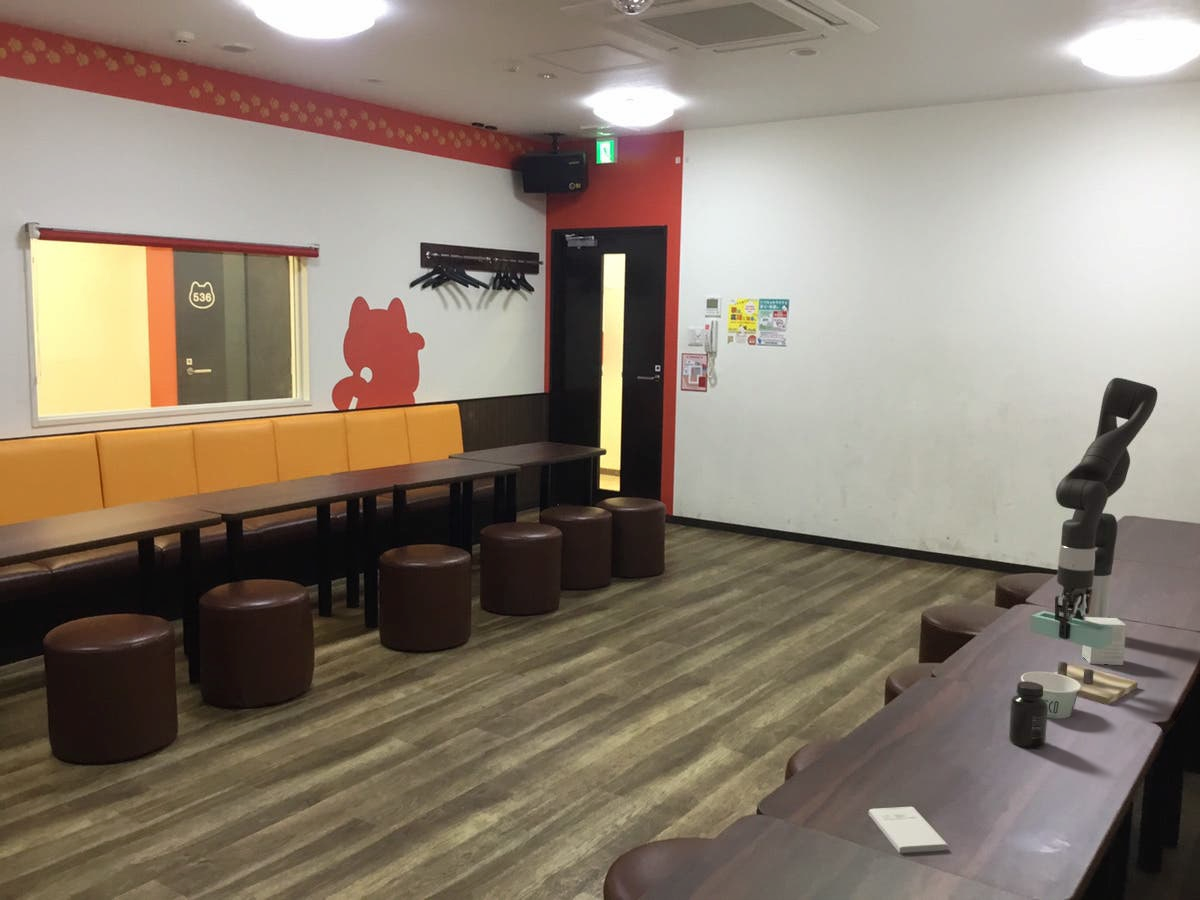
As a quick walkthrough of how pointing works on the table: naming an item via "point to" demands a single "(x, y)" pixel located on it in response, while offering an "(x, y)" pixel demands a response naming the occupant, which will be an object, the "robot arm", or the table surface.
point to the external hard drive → (907, 830)
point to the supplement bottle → (1028, 716)
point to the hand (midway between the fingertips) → (1070, 635)
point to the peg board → (1097, 683)
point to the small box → (1112, 652)
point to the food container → (1056, 692)
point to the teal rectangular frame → (1073, 630)
